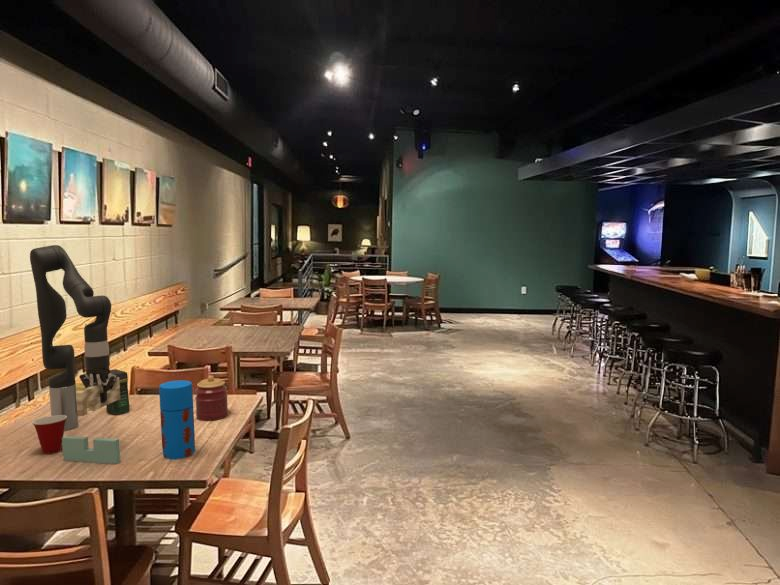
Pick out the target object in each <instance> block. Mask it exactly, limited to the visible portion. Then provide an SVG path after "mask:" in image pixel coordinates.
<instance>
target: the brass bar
mask: <svg viewBox="0 0 780 585" xmlns="http://www.w3.org/2000/svg"><path fill="white" fill-rule="evenodd" d="M108 381H109V380H108ZM100 393H101V392H100V387H99V386H98V384H96V385H93V386H91V387H88V388H86V389H83V390H81V391H78V392H76V402H77V416H78V417H84V416H86V415H88V411H89V412H90V411H91V412H92V411H93V412H95V411H97V410H99V409H101V408H104V407H105V406H106V405H108V404H110V403H112V402H114V401H117V400H119V399H120V384H119V377H117V379H116V382H115V384H114V386H113V388H112V389H111V390H109V391H107V401H106V402H105V403H101V402H100ZM87 402H88V403H89V408H87Z"/></svg>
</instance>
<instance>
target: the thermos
mask: <svg viewBox="0 0 780 585" xmlns="http://www.w3.org/2000/svg"><path fill="white" fill-rule="evenodd" d="M158 388H159V389H158V394H159V410H160V411H159V412H160V415H159V416H160V430H161V432H160V433H161V447H162V457H163V458H164V459H167V460H181V459H186V458H188V457H191V456H192V455H194V454H195V451H196V450H195V449H196V448H195V446H196V442H195V441H196V440H195V439H196V438H195V416H194V414H195V413H194V394H193V384H192V381H189V380H184V379H183V380H181V379H179V380H171V381H166V382H163V383H161V384H160V385H159V387H158Z"/></svg>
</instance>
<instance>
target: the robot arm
mask: <svg viewBox="0 0 780 585" xmlns="http://www.w3.org/2000/svg"><path fill="white" fill-rule="evenodd" d="M29 261H30V266H31V271H32V277H33V282H34V285H35V293H36V294H35V295H36V304H37V305H36V308H37V315H38V320H39V326H40V327H39V328H40V334H41V350H42V351H41V355H42V365H43V367H44V369H46V370H60V369H65V370H64V371H63V372H62V373H60V374H58V375H56V376H53V377H51V378H50V379H48V390H49V392H48V393H49V403H50V405H49V406H50V416H56V415H65V416H67V419H66V421H65V426H64V431H68V430H72V429H74V428H77V427H78V426H79V416H77V402H76V384H77V383H76V374H75V372H76V371H75V367H76V365H75V364H76V363H75V362H76V361H75V358H76V357H75V350H74V346H73V345H72V344H61V345H52V343H53V340H54V339H55V337H56V336H57V333H58V332H59V331H60V329H61V328H62V327H63V325H64V324H65V322H66V319H67V306H66V301H65V299H64V297H63V296H62V295H61V294H60V293H59V292H58V291H57V290H56V289H55V288H54V287H53V286H52V285H51V284H50V283H49V281H48V278H47V273H50V272H55V271H59V270H60V271H61V270H62V271H64V273H63V277H62V278H63V279H62V288H63V289H64V291H65V292H66V293H67V294H68V296H69V297H70V298H71V299H72V300H73V303H74V306H75V310H76V312H77V314H78V315H79V316H80V317H82V318H87V319H88V318H95V320H94V321H92V322H91V323H88V324H85V326H84V328H83V334H84V363H85V369H86V371H85V372H84V373H83V374H80V375H79V379H80V381H81V383H83V385H84V386H85V388H88V387H91V386H93V385H96V384H98V386H99V387H100V392H101V393H100V402H101V403H105V402H106V401H107V391H109V390H111V389H112V388H113V386H114V384H115V382H116V379H117V377H118V376H117V375H113V374H111V371H110V370H111V369H110V366H111V362H110V361H111V360H110V359H111V358H110V345H109V341H108V327H109V326H108V325H109V320H110V316H111V313H112V302H111V300H110V298H109V297H108V296H106V295H94V294H95V292H94V290H93V288H92V287H91V285H89V284H88V282H87V281H86V280H85V279H84V278H83V277H82V275H81V274H80V273H79V270H77V267H76V265H75V264H74V262H73V260H72V259H71V258H70V256H69V254H68V253H67V251H66V250H65V249H64V247H62V246H61V245H59V244H52V245H46V246H41V247H36V248H32V249H31V250H30V252H29ZM108 377H109V378H108ZM107 378H108V380H109V381H108V380H107Z"/></svg>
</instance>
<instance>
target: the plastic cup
mask: <svg viewBox="0 0 780 585" xmlns="http://www.w3.org/2000/svg"><path fill="white" fill-rule="evenodd" d="M66 419H67V416H65V415H56V416H51V415H50V416H45V417H41V418H36V419H34V420H33V421H31V423H32V425H33V426H34V429H35V432H36V434H37V439H38V442H39V444H40V447H41V452H42V453H43V454H45V455H46V454H55V453H58V452H60V451H61V450H62V449H63V447H62V438H63V437H64V431H65V430H64V426H65V421H66Z"/></svg>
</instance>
